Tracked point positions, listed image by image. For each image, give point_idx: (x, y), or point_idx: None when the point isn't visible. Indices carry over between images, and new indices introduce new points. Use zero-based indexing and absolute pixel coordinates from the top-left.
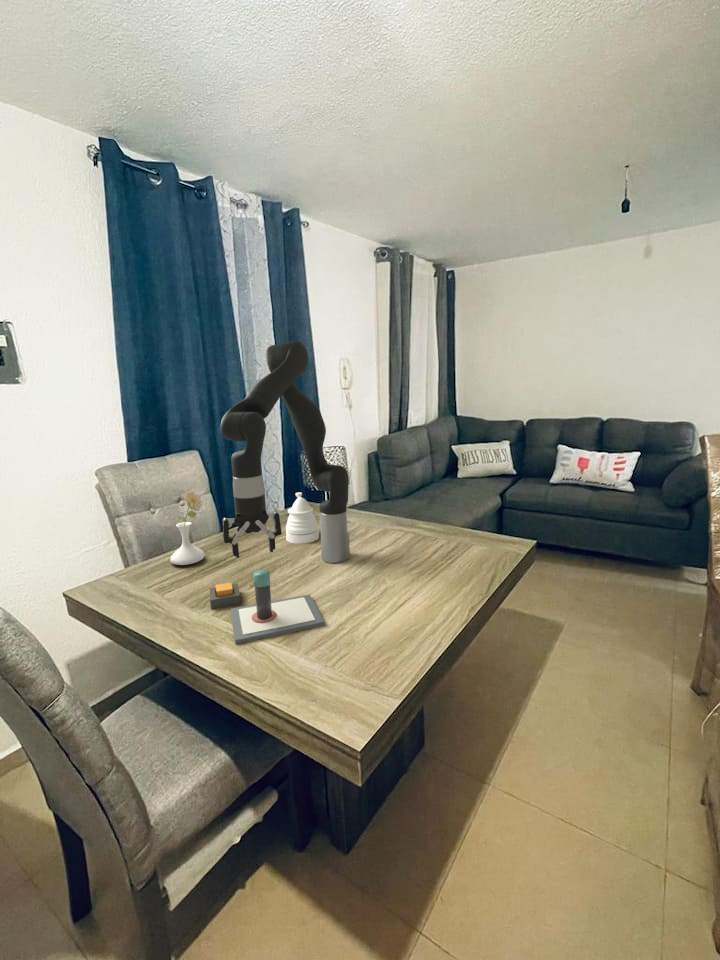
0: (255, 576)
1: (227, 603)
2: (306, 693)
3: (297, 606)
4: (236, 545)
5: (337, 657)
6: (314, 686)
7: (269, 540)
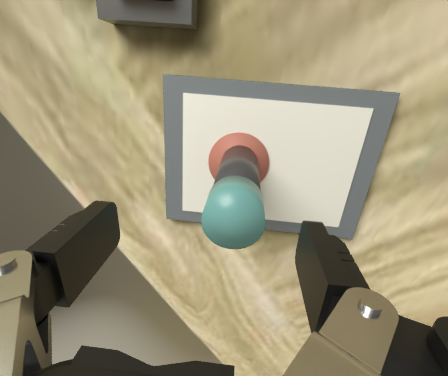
0: (206, 233)
1: (156, 25)
2: (245, 348)
3: (331, 153)
4: (62, 299)
5: None
6: (259, 344)
7: (311, 319)
